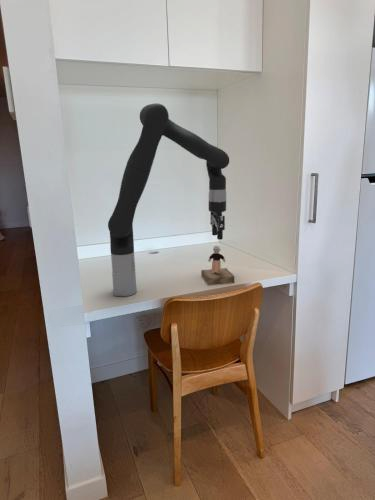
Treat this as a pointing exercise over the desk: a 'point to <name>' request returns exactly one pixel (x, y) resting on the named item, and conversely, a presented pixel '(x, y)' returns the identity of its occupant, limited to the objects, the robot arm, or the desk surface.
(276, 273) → the desk surface
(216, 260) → the grandmother figurine
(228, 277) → the walnut plinth
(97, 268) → the desk surface
